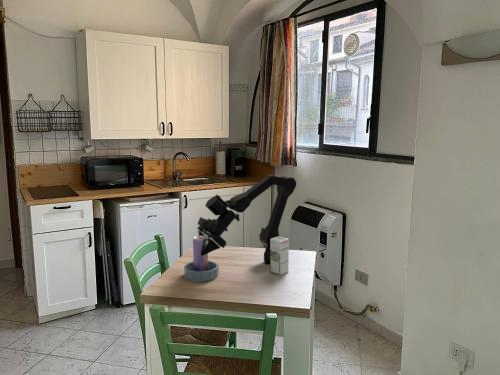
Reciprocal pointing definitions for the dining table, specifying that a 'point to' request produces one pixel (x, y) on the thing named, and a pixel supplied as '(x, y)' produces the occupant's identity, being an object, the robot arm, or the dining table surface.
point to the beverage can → (199, 260)
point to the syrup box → (279, 255)
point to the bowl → (201, 276)
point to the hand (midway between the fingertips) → (197, 252)
